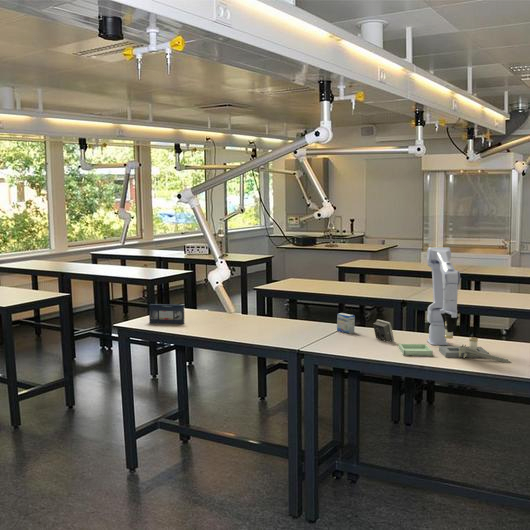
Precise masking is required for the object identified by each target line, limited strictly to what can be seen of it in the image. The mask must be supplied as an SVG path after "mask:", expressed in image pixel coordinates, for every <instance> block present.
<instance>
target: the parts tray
mask: <svg viewBox="0 0 530 530" xmlns="http://www.w3.org/2000/svg"><path fill="white" fill-rule="evenodd" d="M397 347H398V348H399V349H400V350H399V349H398V350H399V351H400V353H401V352H402V353H403V354H402V353H401V354H402V355H403V356H404V355H412V356H411V357H433V352H434V351H433V350H432V348H430V347H429V345H427V344H426V343H398V346H397Z"/></svg>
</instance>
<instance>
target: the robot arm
mask: <svg viewBox="0 0 530 530" xmlns="http://www.w3.org/2000/svg"><path fill="white" fill-rule="evenodd" d="M451 257H452V251H451V248H450V247H449V246H448V247H431V246H429V247H428V248H427V250H426V263H427V266H428V267H429V268H430V269H431V275H432V276H431V277H432V278H431V280H432V294H433V295H432V299H433V300H432V301H433V302H432V303H431V304H429V305H428V307H427V314H426V320H427V322H428V323H429V324H430V325H429V328H428V338H426V341H427V342H428V343H429V344H430V345H432V346H449V345H450V344H449V342H447V338H445V321H446V324H447V332H453V333H454V330H455V326H456V323H457V321H458V320H459V318H460V317H459V316H458V292H459V289H458V287H459V285H460V283H461V274H460V271H459V270H456V268H455V266H454V264H453V262H451V261H450V260H451Z"/></svg>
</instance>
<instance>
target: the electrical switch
mask: <svg viewBox="0 0 530 530" xmlns="http://www.w3.org/2000/svg"><path fill="white" fill-rule="evenodd" d="M372 324H373V325H372V326H373V330H374V336H375V339H376V338H378V339H377V340H379V339H382V340H381V341H383V340H385V341H384V342H386V341H388V342H394V341H395V339H394V333H393V328H392V324H391V322H389V321H385V320H382V319H376V321H375V322H373V323H372ZM390 340H391V341H390Z"/></svg>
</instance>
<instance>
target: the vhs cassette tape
mask: <svg viewBox="0 0 530 530" xmlns="http://www.w3.org/2000/svg"><path fill="white" fill-rule="evenodd" d="M148 307H149V310H148V315H149V316H148V317H149V318H148V319H149V324H167V325H168V324H169V325H170V324H171V325H184V324H185V304H171V303H170V304H168V303H167V304H166V303H165V304H162V303H150V304H149V305H148Z"/></svg>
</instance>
